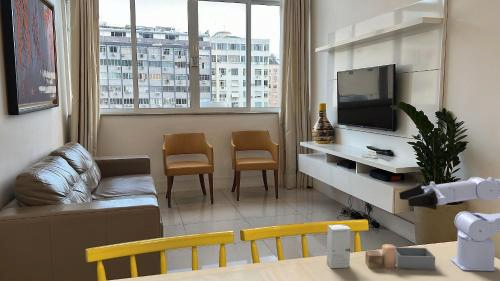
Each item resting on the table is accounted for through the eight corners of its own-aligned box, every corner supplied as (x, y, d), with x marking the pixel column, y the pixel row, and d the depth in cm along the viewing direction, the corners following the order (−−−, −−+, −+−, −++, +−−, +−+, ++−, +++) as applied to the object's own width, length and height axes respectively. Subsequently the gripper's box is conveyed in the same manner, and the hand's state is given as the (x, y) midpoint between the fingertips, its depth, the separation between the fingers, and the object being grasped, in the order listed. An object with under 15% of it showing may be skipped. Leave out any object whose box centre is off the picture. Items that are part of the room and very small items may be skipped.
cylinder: (393, 263, 117) (393, 244, 117) (397, 268, 114) (398, 249, 113) (380, 262, 118) (380, 244, 117) (383, 268, 114) (384, 249, 113)
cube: (378, 262, 118) (378, 250, 117) (381, 268, 114) (382, 255, 113) (365, 262, 118) (365, 250, 118) (368, 268, 114) (368, 255, 114)
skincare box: (331, 268, 113) (331, 229, 112) (326, 262, 118) (326, 224, 117) (350, 267, 114) (351, 228, 113) (344, 261, 119) (345, 223, 117)
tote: (425, 260, 119) (425, 247, 119) (434, 269, 113) (435, 257, 112) (392, 259, 120) (392, 247, 120) (399, 269, 113) (400, 256, 113)
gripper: (437, 175, 120) (394, 181, 121) (460, 184, 106) (411, 191, 107) (440, 196, 121) (397, 202, 122) (463, 209, 107) (414, 215, 108)
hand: (404, 199), depth 115 cm, fingers open, 7 cm apart
